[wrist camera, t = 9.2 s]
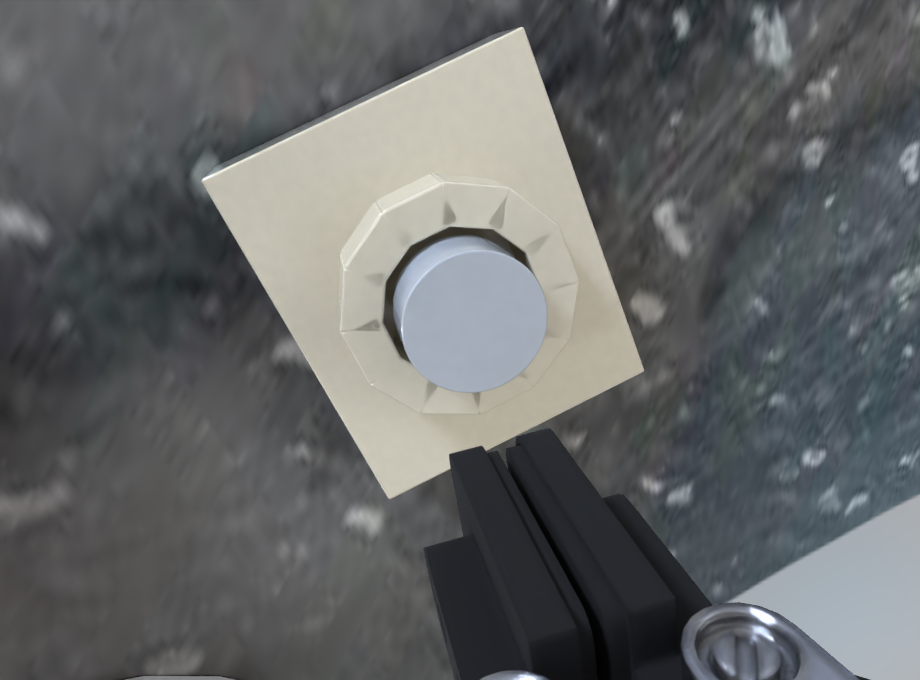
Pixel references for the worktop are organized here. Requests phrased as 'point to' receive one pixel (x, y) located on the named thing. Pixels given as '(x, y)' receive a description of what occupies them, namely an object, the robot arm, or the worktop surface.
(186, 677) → the dish
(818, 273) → the worktop surface
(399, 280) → the pale blue cylinder
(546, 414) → the button base
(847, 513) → the worktop surface
